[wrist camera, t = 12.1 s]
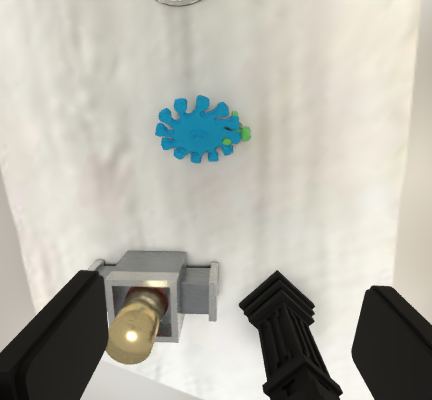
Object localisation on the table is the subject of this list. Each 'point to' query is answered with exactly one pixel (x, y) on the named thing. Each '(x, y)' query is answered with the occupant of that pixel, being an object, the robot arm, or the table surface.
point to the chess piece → (288, 342)
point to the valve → (162, 287)
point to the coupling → (136, 325)
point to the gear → (200, 130)
